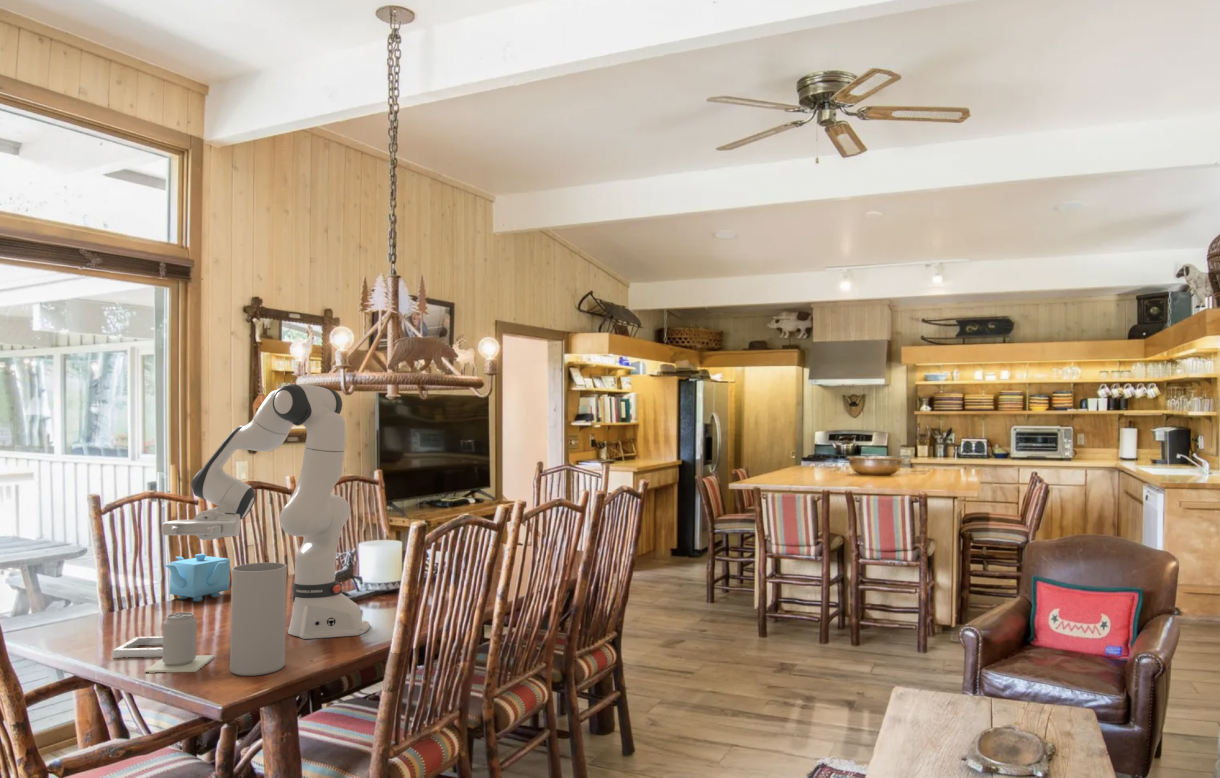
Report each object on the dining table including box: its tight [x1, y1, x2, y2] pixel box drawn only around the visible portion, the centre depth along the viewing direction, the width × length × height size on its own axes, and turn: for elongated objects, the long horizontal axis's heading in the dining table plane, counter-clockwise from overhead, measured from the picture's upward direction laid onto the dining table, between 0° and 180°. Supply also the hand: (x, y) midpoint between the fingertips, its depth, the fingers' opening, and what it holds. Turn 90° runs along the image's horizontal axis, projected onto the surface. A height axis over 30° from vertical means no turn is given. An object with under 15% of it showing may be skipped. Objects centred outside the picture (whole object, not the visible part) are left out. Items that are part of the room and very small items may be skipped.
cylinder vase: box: [229, 562, 288, 677], centre depth 206 cm, size 12×12×25 cm
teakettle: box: [164, 553, 231, 602], centre depth 285 cm, size 19×19×15 cm
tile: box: [144, 654, 215, 674], centre depth 208 cm, size 12×12×1 cm
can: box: [161, 611, 198, 666], centre depth 208 cm, size 8×8×12 cm
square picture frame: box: [112, 635, 163, 659], centre depth 221 cm, size 13×13×2 cm
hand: (191, 531), depth 232 cm, fingers open, 8 cm apart
